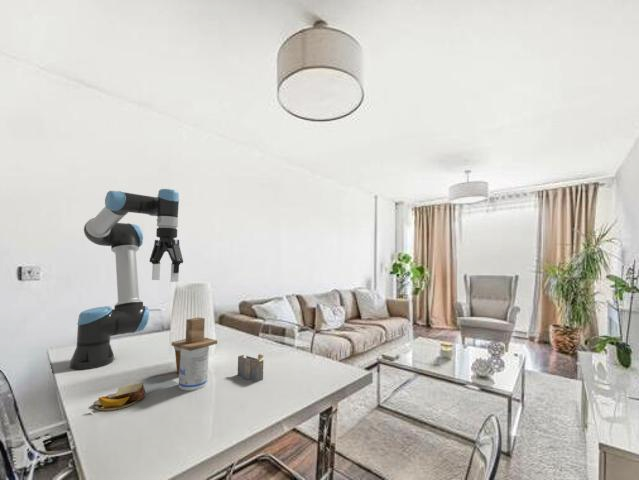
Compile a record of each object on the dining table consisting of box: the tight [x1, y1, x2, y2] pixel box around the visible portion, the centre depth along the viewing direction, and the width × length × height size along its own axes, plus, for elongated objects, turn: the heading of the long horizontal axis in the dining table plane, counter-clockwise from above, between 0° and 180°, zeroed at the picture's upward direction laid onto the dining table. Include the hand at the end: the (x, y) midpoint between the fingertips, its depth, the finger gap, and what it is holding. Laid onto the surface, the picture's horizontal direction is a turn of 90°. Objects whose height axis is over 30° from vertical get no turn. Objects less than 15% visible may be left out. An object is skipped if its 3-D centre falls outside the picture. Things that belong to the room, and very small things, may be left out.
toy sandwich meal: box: [93, 381, 145, 412], centre depth 98 cm, size 12×14×5 cm
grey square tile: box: [134, 375, 179, 396], centre depth 111 cm, size 12×12×1 cm
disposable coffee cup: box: [173, 346, 181, 375], centre depth 124 cm, size 10×10×12 cm
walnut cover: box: [171, 316, 218, 351], centre depth 112 cm, size 11×11×9 cm
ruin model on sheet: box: [237, 353, 264, 383], centre depth 120 cm, size 11×3×10 cm, turn 56°
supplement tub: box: [178, 346, 210, 391], centre depth 111 cm, size 10×10×15 cm
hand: (164, 280), depth 123 cm, fingers open, 13 cm apart
